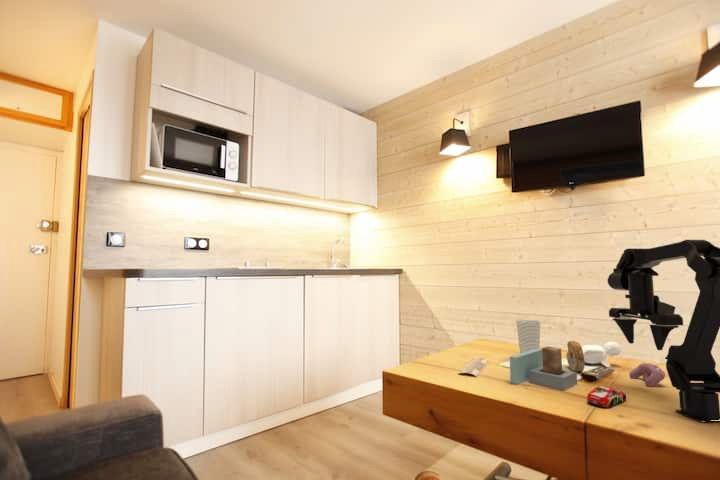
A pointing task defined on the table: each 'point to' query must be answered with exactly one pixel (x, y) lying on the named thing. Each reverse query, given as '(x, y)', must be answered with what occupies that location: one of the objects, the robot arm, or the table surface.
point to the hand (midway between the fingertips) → (644, 346)
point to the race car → (606, 396)
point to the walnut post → (552, 360)
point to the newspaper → (474, 366)
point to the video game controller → (648, 373)
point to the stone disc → (575, 356)
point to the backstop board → (524, 365)
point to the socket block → (553, 379)
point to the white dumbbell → (600, 353)
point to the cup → (528, 334)
